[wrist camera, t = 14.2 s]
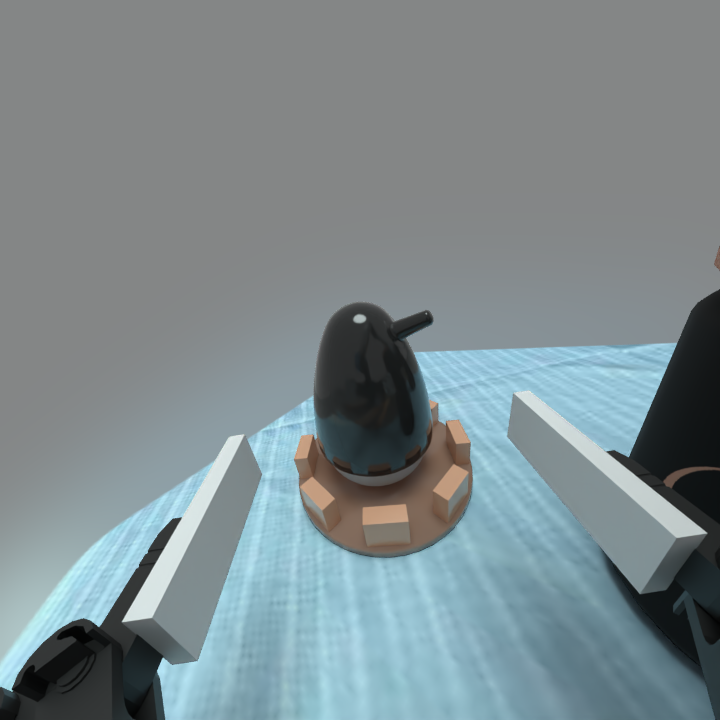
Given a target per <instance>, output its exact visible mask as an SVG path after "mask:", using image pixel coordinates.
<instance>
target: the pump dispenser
mask: <svg viewBox="0 0 720 720" xmlns="http://www.w3.org/2000/svg"><path fill="white" fill-rule="evenodd" d="M432 324H433V316H432V314H431V312H430V311H428V310H425V311H422V312H419V313H416V314H414V315H411V316H408V317H406V318H403V319H400V320H397V321H394V320H393V318H392V317H391V316H390V315H389V314H388V313H387V312H386V311H385V310H384V309H383V308H381V307H380V306H378V305H375V304H373V303H369V302H354V303H350V304H347V305H345V306H343V307H341V308H340V309H339V310H337V311H336V312H335V313H334V314H333V315H332V316H331V317H330V319H329V321H328V323H327V325H326V327H325V329H324V332H323V335H322V338H321V341H320V345H319V350H318V355H317V361H316V368H315V378H314V416H315V426H316V434H317V439H318V443H319V446H320V449H321V452H322V454H323V456H324V457H325V458H326V460H327V461H328V462H329V463H330V464H331V465H333V466H334V467H335V468H336V469H337V470H338V471H339V473H341V474H342V475H343V476H344V477H346V478H348V479H349V480H351V481H353V482H355V483H358V484H361V485H366V486H385V485H389V484H393V483H395V482H398V481H400V480H402V479H403V478H405V477H406V476H408V475H409V474H410V473H411V472H413V471H414V469H415V468H416V467H417V466H418V465H419V463H420V462H421V460H422V458H423V456H424V454H425V452H426V451H427V449H428V448H429V446H430V443H431V441H432V436H433V421H432V413H431V407H430V402H429V397H428V393H427V389H426V385H425V382H424V378H423V375H422V372H421V370H420V367H419V364H418V362H417V360H416V357H415V355H414V353H413V351H412V349H411V347H410V345H409V343H408V341H407V339H406V337H408V336H410V335H412V334H414V333H416V332H418V331H420V330H422V329H424V328H426V327H428V326H430V325H432Z"/></svg>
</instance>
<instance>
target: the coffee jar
mask: <svg viewBox="0 0 720 720" xmlns="http://www.w3.org/2000/svg"><path fill="white" fill-rule="evenodd" d="M714 264H715V266H716V267H717V268H718V269H719V270H720V247H719V250H718V253H717V256H716V260H715V263H714ZM629 458H631V459H633V460H634V461H636V462H637V463H638V464H640V465H641V466H642V467H644V468H645V469H646V470H648V471H649V472H650V473H651V475H652V476H656V477H657V478H658V479H660V480H661V481H662V482H664V483H665V485H666V486H667V487H670V488H672V489H673V490H674V491H676V492H677V493H678V494H680V495H681V496H682V497H684V498H685V499H686V500H688V501H689V502H690V503H692V504H693V505H694V506H696V507H697V508H698V509H700V510H701V511H702V512H704V513H705V514H706V515H708V516H709V517H710V518H712V519H713V520H714V521H716V522H717V523H718V524H720V289H719V290H718V291H716V292H714V293H712V294H711V295H709V296H707V297H706V298H704V299H703V300H701V301H700V302H698V303H697V305H696V306H695V307H694V308H693V309H692V311H691V313H690V315H689V317H688V320H687V322H686V324H685V327H684V329H683V332H682V334H681V336H680V339H679V341H678V343H677V346H676V348H675V350H674V353H673V355H672V357H671V360H670V362H669V364H668V367H667V369H666V371H665V374H664V376H663V379H662V381H661V383H660V386H659V388H658V390H657V393H656V395H655V397H654V400H653V402H652V404H651V407H650V409H649V411H648V414H647V416H646V418H645V421H644V423H643V426H642V428H641V430H640V433H639V435H638V437H637V440H636V442H635V444H634V447H633V449H632V451H631V454H630V456H629ZM613 565H614V568H615V569H616V571H617V572H618V574H619V575H620V577H621V578H622V580H623V581H624V583H625V584H626V586H627V588H628V589H629V591H630V592H631V594H632V595H633V597H634V598H635V600H636V601H637V603H638V604H639V605H640V607H641V608H642V610H643V611H644V612H645V613H646V614H647V615H648V616H649V617H650V618H651V619H652V620H653V621H654V623H655V624H656V625H657V626H658V627H659V628H660V629H661V630H662V631H663V632H664V633H665V634H666V636H667V637H668V638H669V639H670V640H671V641H672V642H673V643H674V644H675V645H676V646H677V647H678V648H679V649H680V650H681V651H683V652H684V653H685V654H686V655H687V656H689V657H690V658H691V659H692V660H693V661H695V662H696V663H697V664H698V665H699V666H701V663H700V660H699V656H698V652H697V648H696V644H695V641H694V637H693V633H692V629H691V626H690V622H689V620H688V614H687V611H686V608H685V609H684V610H683V611H682V612H681V614H680V615H677V614H675V613H673V605H674V604H675V602H676V601H677V600H678V599H679V597H680V596H681V595H682V594H683V592H684V591H685V589H684V588H683V587H682V586H681V585H680V584H679V583H678V582H677V581H676V580H675V579H674V580H673V581H672V583H671V584H670V585H669V587H668V588H667V589H666V590H663V591H657V592H650V593H644V594H639V592H638V591H637V590H636V589H635V588H634V586H633V585H632V584H631V583H630V582H629V580H628V579H627V578H626V577H625V576H624V575H623V573H622V572H621V571H620V570H619V569H618V567H617V566H616V565H615V564H614V563H613Z"/></svg>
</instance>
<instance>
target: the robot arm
mask: <svg viewBox="0 0 720 720" xmlns="http://www.w3.org/2000/svg"><path fill="white" fill-rule="evenodd" d="M507 437H508V438H509V439H510V441H511V442H512V443H513V444H514V445H515V446H516V448H517V449H518V450H519V451H520V452H521V454H522V455H523V456H524V457H525V458H526V459H527V461H528V462H529V463H530V464H531V465H532V467H533V468H534V469H535V470H536V471H537V473H538V474H539V475H540V476H541V477H542V478H543V480H544V481H545V482H546V483H547V484H548V486H549V487H550V488H551V489H552V490H553V492H554V493H555V494H556V495H557V496H558V497H559V499H560V500H561V501H562V502H563V503H564V505H565V506H566V507H567V508H568V509H569V511H570V512H571V513H572V514H573V515H574V516H575V518H576V519H577V520H578V521H579V522H580V524H581V525H582V526H583V527H584V528H585V529H586V531H587V532H588V533H589V534H590V535H591V537H592V538H593V539H594V540H595V541H596V543H597V544H598V545H599V546H600V547H601V548H602V550H603V551H604V552H605V553H606V554H607V556H608V557H609V558H610V559H611V560H612V562H613V563H614V564H615V565H616V566H617V567H618V569H619V570H620V571H621V572H622V573H623V575H624V576H625V577H626V578H627V579H628V580H629V582H630V583H631V584H632V585H633V586H634V588H635V589H636V590H637V591H638V592H639V594H644V593H650V592H657V591H663V590H666V589H667V588H668V587H669V585H670V584H671V583H672V581H673V580H674V579H675V580H676V581H677V582H678V583H679V584H680V585H681V586H682V587H683V588H684V589H685V591H684V592H683V594H682V595H681V596H680V597H679V599H678V600H677V601H676V602H675V604H674V605H673V613H675V614H677V615H680V614H681V612H682V611H683V610H684V609H685V608H686V611H687V614H688V620H689V622H690V626H691V629H692V633H693V637H694V641H695V644H696V648H697V652H698V656H699V660H700V663H701V667H702V671H703V675H704V678H705V682H706V686H707V690H708V694H709V697H710V701H711V705H712V709H713V712H714V716H715V720H720V524H718V523H717V522H716V521H714V520H713V519H712V518H710V517H709V516H708V515H706V514H705V513H704V512H702V511H701V510H700V509H698V508H697V507H696V506H694V505H693V504H692V503H690V502H689V501H688V500H686V499H685V498H684V497H682V496H681V495H680V494H678V493H677V492H676V491H674V490H673V489H672V488H670V487H667V486H666V485H665V483H664V482H662V481H661V480H660V479H658V478H657V477H656V476H652V475H651V473H650V472H649V471H648V470H646V469H645V468H644V467H642V466H641V465H640V464H638V463H637V462H636V461H634V460H633V459H631V458H629V457H627V456H625V455H623V454H621V453H619V452H617V451H615V450H613V451H607V452H605V451H604V450H603V449H602V448H600V447H599V446H598V445H597V444H595V443H594V442H593V441H592V440H590V439H589V438H588V437H587V436H585V435H584V434H583V433H582V432H580V431H579V430H578V429H577V428H575V427H574V426H573V425H572V424H570V423H569V422H568V421H567V420H565V419H564V418H563V417H562V416H560V415H559V414H558V413H557V412H555V411H554V410H553V409H552V408H550V407H549V406H548V405H547V404H545V403H544V402H543V401H542V400H540V399H539V398H538V397H537V396H535V395H534V394H533V393H532V392H530V391H522V392H516V393H513V399H512V406H511V413H510V420H509V427H508V434H507ZM261 476H262V473H261V471H260V468H259V466H258V464H257V461H256V459H255V457H254V454H253V452H252V450H251V448H250V445H249V443H248V441H247V438H246V436H245V434H244V435H237V436H231V437H229V438H228V440H227V441H226V443H225V445H224V446H223V448H222V450H221V452H220V453H219V455H218V457H217V459H216V460H215V462H214V464H213V465H212V467H211V469H210V471H209V472H208V474H207V476H206V478H205V479H204V481H203V483H202V484H201V486H200V488H199V490H198V491H197V493H196V495H195V497H194V498H193V500H192V502H191V503H190V505H189V507H188V509H187V510H186V512H185V514H184V515H183V517H181V518H175V519H172V520H171V521H170V522H169V523H168V524H167V525H166V526H165V527H164V529H163V530H162V531H161V532H160V533H159V534H158V535H157V537H156V539H155V540H154V542H153V543H152V545H151V546H150V548H149V550H148V553H147V554H145V556H144V558H143V559H142V561H141V562H140V564H139V568H137V569H136V570H135V572H134V574H133V575H132V577H131V578H130V580H129V581H128V583H127V585H126V586H125V588H124V589H123V591H122V593H121V594H120V596H119V597H118V599H117V601H116V602H115V604H114V605H113V607H112V609H111V610H110V612H109V613H108V615H107V616H106V618H105V620H104V621H103V623H102V624H101V626H100V627H98V626H97V625H95V624H94V623H93V622H91V621H90V620H87V619H84V618H83V619H79V620H76V621H72V622H71V623H69V624H67V625H66V626H64V627H62V628H60V629H59V630H58V631H56V632H55V633H54V634H53V635H52V636H50V637H49V638H48V639H47V640H46V641H44V642H43V643H42V644H41V646H40V647H39V648H38V649H37V650H36V651H35V652H34V653H33V654H32V655H31V656H30V658H29V659H28V660H27V662H26V663H25V665H24V666H23V668H22V669H21V671H20V672H19V674H18V675H17V678H16V680H15V683H14V685H13V687H12V690H13V692H11V691H9V690H7V689H4V688H2V687H0V720H165V714H164V707H163V699H162V691H161V684H160V678H159V676H158V673H157V669H158V667H159V665H160V662H161V660H162V658H165V659H166V660H167V661H168V662H169V663H170V664H172V665H174V664H181V663H188V662H194V661H198V659H199V656H200V653H201V650H202V647H203V644H204V641H205V638H206V636H207V633H208V630H209V627H210V624H211V621H212V618H213V615H214V612H215V609H216V607H217V604H218V601H219V598H220V595H221V592H222V589H223V586H224V583H225V580H226V577H227V575H228V572H229V569H230V566H231V563H232V560H233V557H234V554H235V551H236V548H237V546H238V543H239V540H240V537H241V534H242V531H243V528H244V525H245V522H246V519H247V517H248V514H249V511H250V508H251V505H252V502H253V499H254V496H255V493H256V490H257V488H258V485H259V482H260V479H261Z"/></svg>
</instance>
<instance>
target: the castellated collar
mask: <svg viewBox="0 0 720 720" xmlns="http://www.w3.org/2000/svg"><path fill="white" fill-rule="evenodd" d="M429 402H430V407H431V413H432V421H433V436H432V441H431V443H430V446H429V448H428V449H427V451H426V452H425V454H424V456H423V458H422V460H421V462H420V463H419V465H418V466H417V467H416V468H415V469H414V471H413V472H411V473H410V474H409V475H408V476H406V477H405V478H403V479H402V480H400V481H398V482H395V483H393V484H389V485H385V486H366V485H361V484H358V483H355V482H353V481H351V480H349V479H348V478H346V477H344V476H343V475H342V474H341V473H339V471H338V470H337V469H336V468H335V467H334V466H333V465H331V464H330V463H329V462H328V461H327V460H326V458H325V457H324V456H323V454H322V452H321V449H320V446H319V443H318V439H316V440H315V439H314V435H303V436H301V439H300V442H299V445H298V448H297V452H296V455H295V458H294V461H295V464H296V466H297V469H298V472H299V488H300V495H301V498H302V501H303V505H304V507H305V510H306V512H307V514H308V516H309V518H310V520H311V521H312V523H313V524H314V525H315V527H316V528H317V529H318V530H319V531H320V532H321V533H322V534H323V535H324V536H325V537H326V538H327V539H329V540H330V541H332V542H333V543H334V544H336V545H338V546H340V547H342V548H344V549H346V550H348V551H351V552H354V553H357V554H360V555H366V556H372V557H395V556H402V555H407V554H411V553H414V552H417V551H420V550H423V549H425V548H427V547H429V546H431V545H433V544H435V543H436V542H438V541H439V540H440V539H442V538H443V537H445V536H446V535H447V534H448V533H449V532H450V531H451V530H452V529H453V528H454V527H455V526H456V525H457V523H458V522H459V521H460V519H461V518H462V516H463V514H464V512H465V510H466V509H467V506H468V503H469V500H470V497H471V490H472V480H473V478H472V466H471V461H470V445H471V442H470V440H469V439H468V437H467V435H466V433H465V431H464V429H463V427H462V425H461V423H460V421H459V420H451V421H446V426H445V425H444V424H443V423H441V422H439V421H438V403H436V402H433V401H431V400H429Z"/></svg>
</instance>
